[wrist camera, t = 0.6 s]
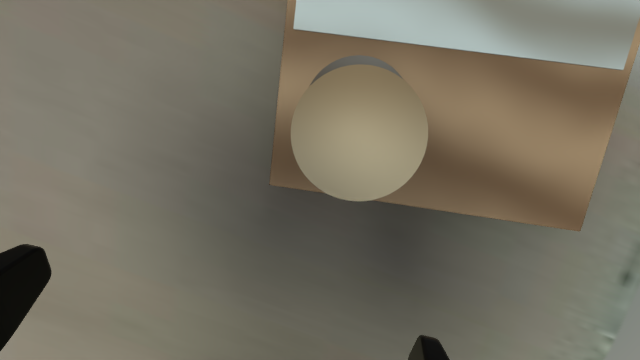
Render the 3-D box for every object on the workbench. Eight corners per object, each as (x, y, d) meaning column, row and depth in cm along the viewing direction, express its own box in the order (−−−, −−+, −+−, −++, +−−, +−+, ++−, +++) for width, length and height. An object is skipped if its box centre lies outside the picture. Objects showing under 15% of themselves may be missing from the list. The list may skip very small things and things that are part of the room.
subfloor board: (568, 224, 23) (582, 232, 21) (273, 180, 24) (268, 185, 22) (668, -101, 18) (692, -116, 17) (305, -136, 20) (302, -153, 18)
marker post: (398, 166, 22) (447, 256, 10) (301, 152, 22) (239, 223, 10) (417, 64, 20) (500, 30, 9) (313, 51, 20) (257, 0, 9)
